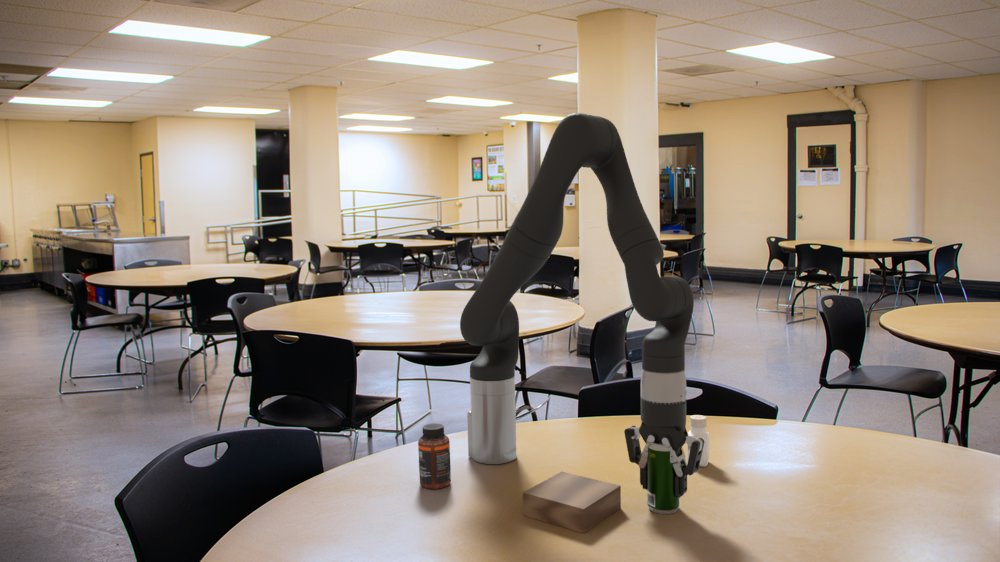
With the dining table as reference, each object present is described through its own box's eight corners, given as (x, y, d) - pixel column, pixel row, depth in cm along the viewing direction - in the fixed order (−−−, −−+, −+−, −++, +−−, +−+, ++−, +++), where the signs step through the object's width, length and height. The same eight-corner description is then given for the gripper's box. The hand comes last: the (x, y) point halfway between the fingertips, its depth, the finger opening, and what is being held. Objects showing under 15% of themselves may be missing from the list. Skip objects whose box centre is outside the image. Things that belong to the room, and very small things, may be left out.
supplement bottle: (456, 480, 144) (455, 423, 142) (441, 492, 138) (439, 432, 137) (429, 476, 146) (427, 420, 145) (413, 487, 141) (411, 428, 140)
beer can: (663, 517, 125) (663, 447, 124) (640, 507, 129) (640, 439, 128) (686, 509, 128) (686, 441, 127) (662, 499, 132) (662, 433, 131)
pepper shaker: (686, 465, 149) (686, 419, 148) (689, 459, 153) (689, 413, 152) (707, 468, 147) (707, 420, 146) (709, 461, 151) (709, 415, 150)
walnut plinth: (523, 515, 127) (522, 492, 127) (562, 492, 137) (561, 471, 136) (584, 533, 120) (583, 509, 119) (620, 508, 129) (620, 485, 129)
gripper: (614, 394, 128) (615, 489, 130) (694, 406, 119) (694, 509, 121) (635, 384, 134) (635, 476, 136) (713, 396, 125) (712, 494, 127)
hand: (663, 491), depth 128 cm, fingers closed on beer can, 5 cm apart
